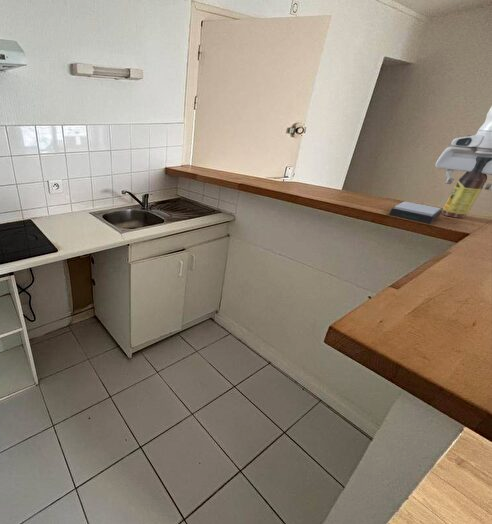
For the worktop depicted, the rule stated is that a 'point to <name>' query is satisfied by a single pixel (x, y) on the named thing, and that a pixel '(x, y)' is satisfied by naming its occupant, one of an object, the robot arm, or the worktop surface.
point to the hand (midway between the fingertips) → (467, 186)
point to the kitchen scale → (416, 212)
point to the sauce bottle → (466, 190)
